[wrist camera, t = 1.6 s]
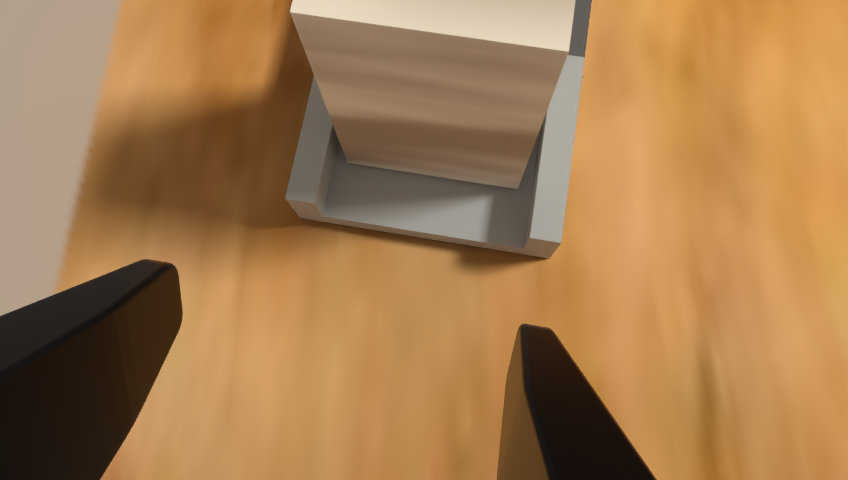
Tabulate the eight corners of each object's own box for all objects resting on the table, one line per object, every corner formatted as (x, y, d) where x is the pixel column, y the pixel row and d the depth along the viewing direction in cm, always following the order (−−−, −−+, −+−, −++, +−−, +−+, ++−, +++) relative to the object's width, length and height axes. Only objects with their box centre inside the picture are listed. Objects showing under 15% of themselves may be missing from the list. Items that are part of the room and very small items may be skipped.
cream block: (517, 189, 22) (569, 51, 13) (347, 162, 23) (289, 12, 14) (532, 85, 23) (589, -107, 14) (369, 61, 23) (327, -140, 15)
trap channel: (549, 258, 23) (561, 243, 20) (299, 218, 23) (285, 198, 21) (600, -142, 27) (615, -192, 24) (387, -168, 27) (383, -219, 25)
